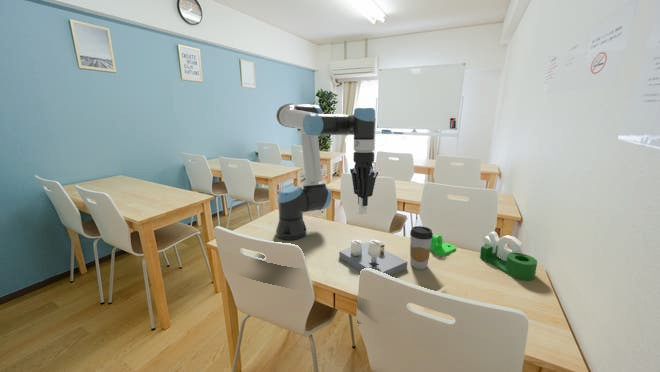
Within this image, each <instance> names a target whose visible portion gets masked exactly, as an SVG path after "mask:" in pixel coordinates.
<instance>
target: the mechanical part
mask: <svg viewBox="0 0 660 372" xmlns="http://www.w3.org/2000/svg"><path fill="white" fill-rule="evenodd" d="M447 246H449V247H447ZM456 250H457V247H456V245H454V244H451V243H449V242H444V243H443V237H442V236H441V235H439V234H433V238H432V241H431V248H430V253H431V252H432V253H433V254H436V255H437V256H439V257H444V256H446V255H448V254H451V253H452V252H454V251H456Z"/></svg>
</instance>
